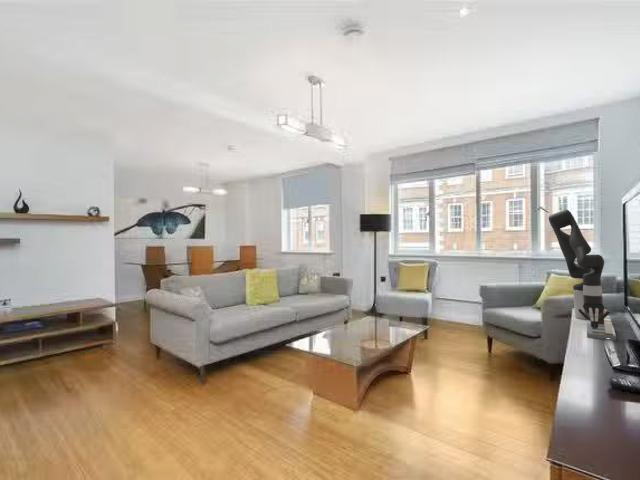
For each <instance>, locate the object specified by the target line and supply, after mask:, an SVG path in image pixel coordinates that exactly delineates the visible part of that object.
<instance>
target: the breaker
mask: <svg viewBox="0 0 640 480" xmlns="http://www.w3.org/2000/svg"><path fill="white" fill-rule="evenodd" d="M612 325H613V323H612V321H611V322H605V330H606V333H608V334H613V333H612Z"/></svg>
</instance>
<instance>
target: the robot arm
mask: <svg viewBox="0 0 640 480" xmlns="http://www.w3.org/2000/svg"><path fill="white" fill-rule="evenodd" d="M548 222H549V225H550V226H551V229H552V230H553V232H554V235H555V236H556V239H557V242H558V245H559V248H560V250H561V252H562V254H563V257H564V260H565V264H566V266H567V270H568V274H569V275H570V277H571V278H572V279H578V280H579V279H580V280H582V282H580V283H576V284H574V285H573V286H572V287H573V290H572V291H573V305H574V317H575V318H576V319H582V320H587V321H590V324H591V327H593V329H597V328H598V321H602V320H603V319H604V318H605V317H606V316H609V314H611V312H610V310H609V309H607V308H606V309H607V310H606V309H605V308H604V307H605V306H604V299H603V289H602V280H601V276H602V273H603V270H604V267H605V259H604V257H603V256H602V255H600V254H590V253H591V252H592V248H591V246H590V244H589V242H588V241H587V240H586V238H585V236H584V235H583V233H582V231H581V229H580V226H579V225H578V222H577V221H576V219H575V217H574V215H573V213H572V212H571V211H570V210H568V209H563V210H560V211H557V212H555V213H551V214H550V215H549V216H548ZM569 226H570V234H568V233H566V232H565V231H563V230H561V229H563V228H566V227H569ZM575 261H576V262H575ZM603 310H604V311H603ZM602 311H603V313H604V314H603V315H602V316H601V317H600V318H598V314H600V313H601V312H602ZM593 314H595V321H594V319H593ZM594 324H595V325H594Z"/></svg>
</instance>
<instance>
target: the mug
mask: <svg viewBox="0 0 640 480" xmlns="http://www.w3.org/2000/svg"><path fill="white" fill-rule="evenodd" d="M604 308H605V309H606V310H608V309H607V307H606V306H604ZM603 311H604V310H603ZM603 311H602V312H601V313H600V314H598V318H600V317H601V316H602V315H603V314H604V313H603ZM593 319H594V321H595V314H593ZM598 324H602V325H604V319H603V320H602V321H598Z"/></svg>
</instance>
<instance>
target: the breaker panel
mask: <svg viewBox="0 0 640 480" xmlns="http://www.w3.org/2000/svg"><path fill="white" fill-rule="evenodd" d="M594 325H595V324H594ZM612 333H613V334H608V333H606V330H605V326H604V325H602V324H598V328H597V329H593V327H591V322H590V323H589V322H587V324H586V338H590V339H600V340H607V339H606V338H610V339H612V340H611V341H617V334H616V330H615V327H614V325H613V324H612Z"/></svg>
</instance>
